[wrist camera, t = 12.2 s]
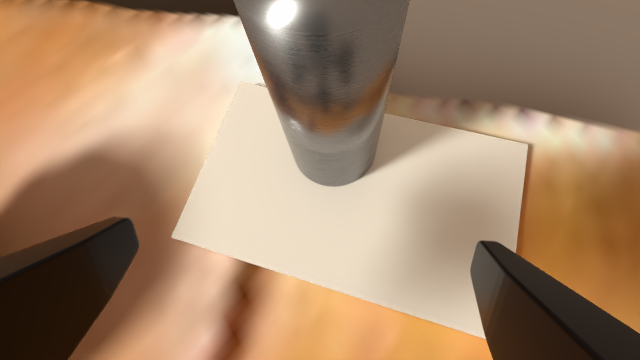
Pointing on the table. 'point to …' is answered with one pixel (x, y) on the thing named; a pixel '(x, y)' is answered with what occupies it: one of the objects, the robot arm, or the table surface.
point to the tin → (327, 77)
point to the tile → (361, 210)
